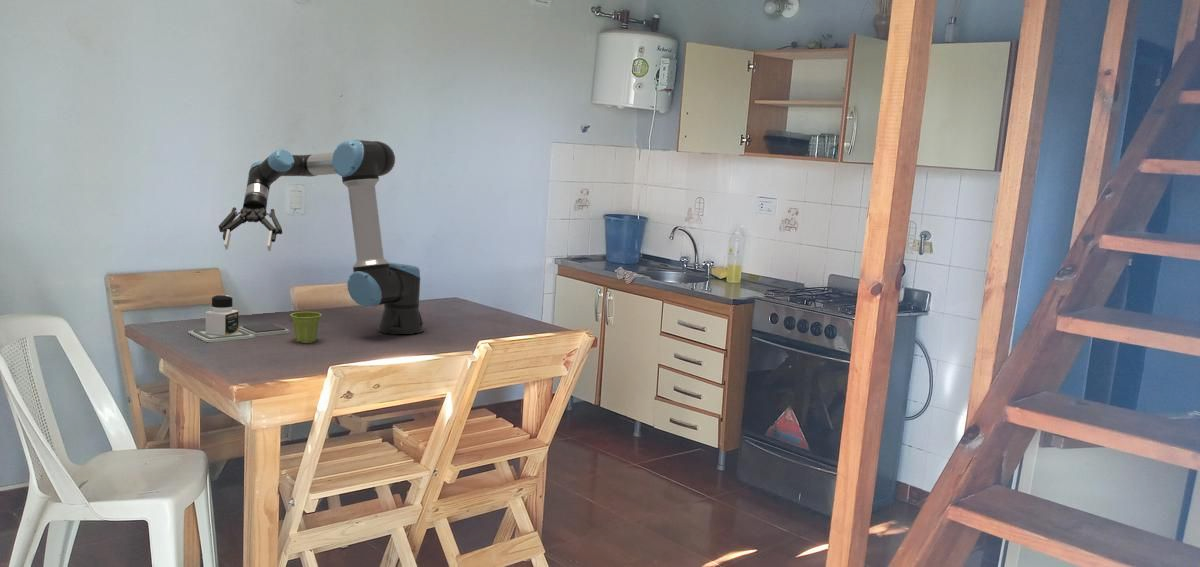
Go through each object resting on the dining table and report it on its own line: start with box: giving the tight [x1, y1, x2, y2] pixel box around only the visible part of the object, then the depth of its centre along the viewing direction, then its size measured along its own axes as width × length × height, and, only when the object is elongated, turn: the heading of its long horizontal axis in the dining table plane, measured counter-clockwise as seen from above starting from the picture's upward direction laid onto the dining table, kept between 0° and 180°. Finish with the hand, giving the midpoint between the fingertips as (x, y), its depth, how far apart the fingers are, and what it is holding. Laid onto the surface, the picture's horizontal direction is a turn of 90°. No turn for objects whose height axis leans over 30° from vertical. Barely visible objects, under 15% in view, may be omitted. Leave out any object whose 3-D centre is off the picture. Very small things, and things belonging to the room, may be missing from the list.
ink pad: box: [238, 322, 291, 338], centre depth 302 cm, size 12×12×1 cm
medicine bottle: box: [205, 294, 239, 336], centre depth 292 cm, size 7×7×12 cm
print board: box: [187, 328, 256, 343], centre depth 293 cm, size 15×15×1 cm
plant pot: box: [290, 311, 323, 344], centre depth 292 cm, size 9×9×9 cm
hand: (247, 247), depth 308 cm, fingers open, 13 cm apart
